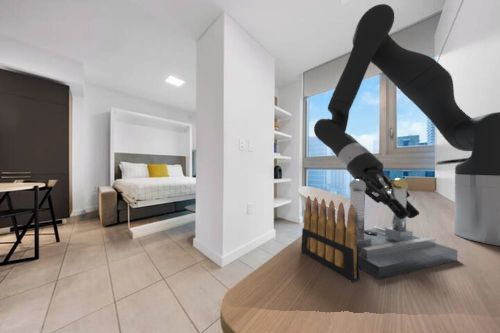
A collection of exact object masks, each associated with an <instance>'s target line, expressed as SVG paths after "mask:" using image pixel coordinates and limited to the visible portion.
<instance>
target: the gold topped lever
mask: <svg viewBox="0 0 500 333" xmlns="http://www.w3.org/2000/svg"><path fill="white" fill-rule="evenodd" d="M391 180H392V182H391V187H392V195H393V196H394V197H395V199H394V200H398V201H399V202H400V203H401V204H402V206H403V207H404V208H405V209H406V210H407V201H408V197H407V191H408V188H409V182H408V181H407V180H406V179H404V178H400V177H396V178H394V179H391ZM382 228H383V227H382ZM382 228H381V227H379V226H376V225H373V227H372V229H375V230H378V231H381V232H384V233H385V237H388V238H391V239H393V240H396V241H399V242H402V241H408V240H412V236H414V235H413V230H411V229H407V217H406V218H404V219H399V218H398V217H397V216H396V215H395V214H394V213H393V211H392V210H391V226H389V227H384V228H385V229H382Z"/></svg>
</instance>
